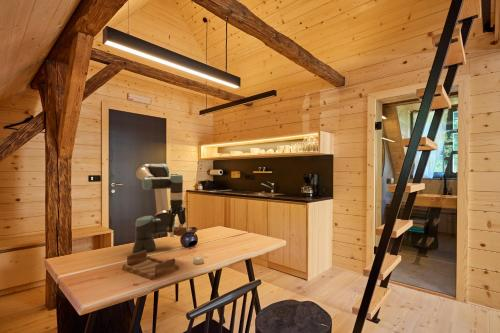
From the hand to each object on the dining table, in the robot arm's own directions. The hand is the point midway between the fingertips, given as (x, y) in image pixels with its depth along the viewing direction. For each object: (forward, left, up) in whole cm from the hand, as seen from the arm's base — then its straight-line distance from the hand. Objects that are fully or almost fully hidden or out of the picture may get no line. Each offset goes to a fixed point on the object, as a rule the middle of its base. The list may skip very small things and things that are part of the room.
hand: (176, 235), depth 168 cm
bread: (+1, 0, -2) cm, 2 cm away
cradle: (0, -19, -15) cm, 24 cm away
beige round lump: (+15, +4, -15) cm, 22 cm away
